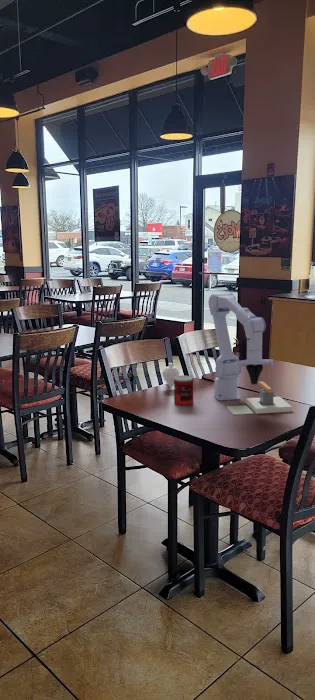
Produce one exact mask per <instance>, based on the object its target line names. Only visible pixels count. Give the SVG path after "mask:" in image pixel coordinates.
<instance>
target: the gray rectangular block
mask: <svg viewBox="0 0 315 700" xmlns="http://www.w3.org/2000/svg"><path fill="white" fill-rule="evenodd" d="M273 397H274V391H272V392H271V393H268V392H266V391H265V390H264V389H263V390H260V389H259V398H260V404H261V405H262V406H265V405H273Z"/></svg>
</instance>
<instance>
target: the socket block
mask: <svg viewBox="0 0 315 700" xmlns="http://www.w3.org/2000/svg"><path fill="white" fill-rule="evenodd" d="M260 390H264V389H263V388H262V387H260V386H259V391H260ZM245 404H247V407H248V408H249V409H250V410H251V411H252V412H253V413H254V414H256V415H257V414H271V413H272V414H273V413H275V414H276V413H288V412H290V413H291V412H293V407H292V405H291V404H289V403H288V402H287V401H286V400H284V399H283V398H282V397H280V396H279V395H278V396H273V405H265V406H262V405H261V404H260V397H247V398H245Z"/></svg>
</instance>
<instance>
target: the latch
mask: <svg viewBox="0 0 315 700" xmlns="http://www.w3.org/2000/svg"><path fill="white" fill-rule="evenodd" d="M258 387H259V388H260V387H262V388H263V390H265V391H266V392H268V393H271V392H272V390H273V389H272V388H271V387H270V386H269V385H268V384H267V383H266V381H263V380H262V381H258Z"/></svg>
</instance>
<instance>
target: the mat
mask: <svg viewBox="0 0 315 700" xmlns="http://www.w3.org/2000/svg"><path fill="white" fill-rule="evenodd" d="M226 408H227V409H228V410H229V412H230V413H231V414H232V416H240V415H243V416H244V415H253V414H255V412H254V411H253V410H252V409H251V408H250V407H249V406H248V405H231V406H230V405H229V406H226Z"/></svg>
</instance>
